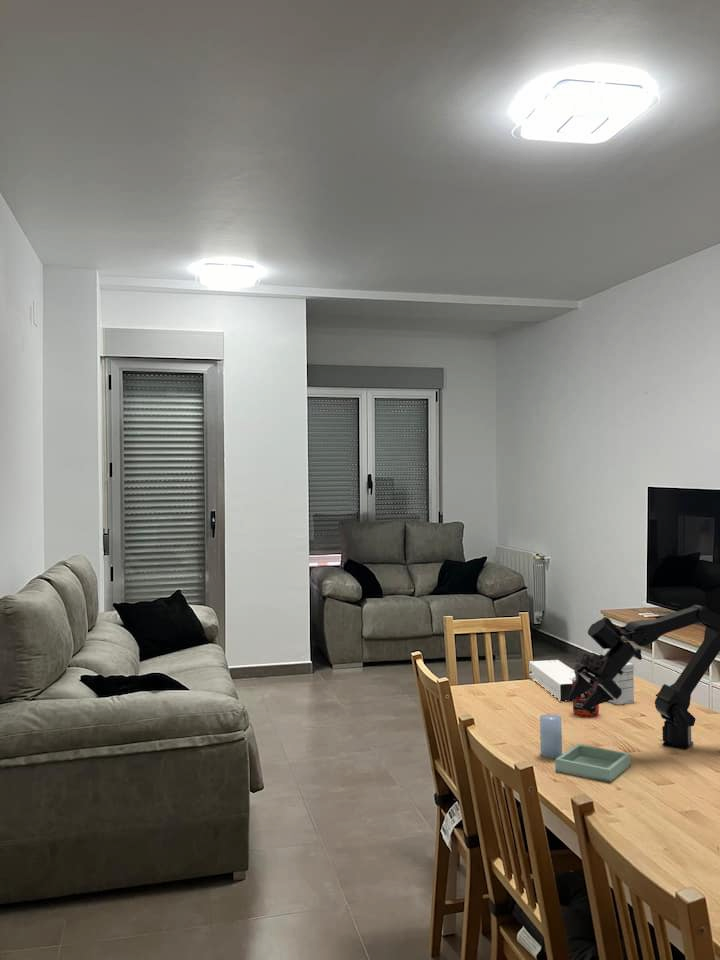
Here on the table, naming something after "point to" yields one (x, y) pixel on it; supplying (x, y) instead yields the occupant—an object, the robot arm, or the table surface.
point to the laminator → (553, 677)
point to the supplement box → (625, 685)
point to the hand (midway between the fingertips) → (576, 703)
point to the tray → (593, 762)
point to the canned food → (580, 702)
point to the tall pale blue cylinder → (551, 735)
